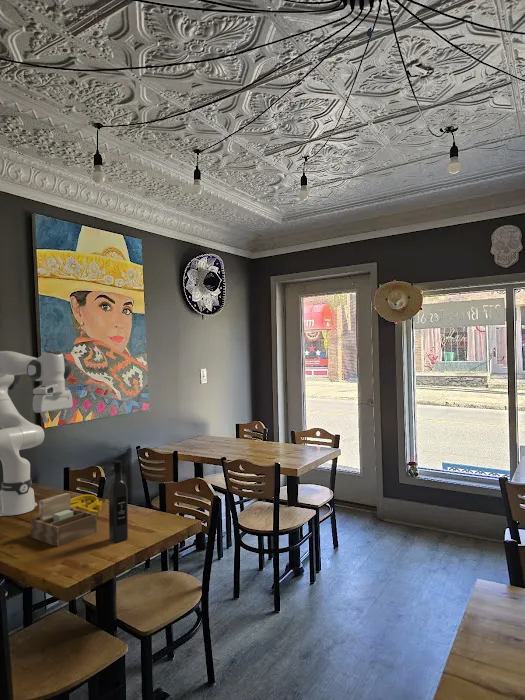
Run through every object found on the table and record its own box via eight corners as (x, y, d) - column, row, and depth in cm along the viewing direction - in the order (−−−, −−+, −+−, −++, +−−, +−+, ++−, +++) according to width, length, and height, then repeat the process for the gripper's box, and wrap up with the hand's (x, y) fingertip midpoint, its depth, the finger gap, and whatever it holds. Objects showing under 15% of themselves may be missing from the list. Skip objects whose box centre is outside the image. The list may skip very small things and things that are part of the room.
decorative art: (88, 493, 230) (121, 505, 210) (88, 499, 229) (121, 511, 210) (46, 503, 214) (77, 517, 194) (46, 510, 214) (78, 524, 194)
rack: (30, 537, 179) (30, 519, 180) (69, 523, 194) (69, 507, 194) (57, 546, 169) (57, 527, 170) (96, 531, 184) (96, 514, 184)
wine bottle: (128, 539, 175) (128, 461, 176) (114, 543, 172) (114, 463, 172) (122, 535, 180) (121, 459, 180) (108, 539, 176) (107, 461, 176)
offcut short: (53, 521, 180) (53, 514, 181) (67, 517, 186) (67, 509, 186) (59, 523, 178) (59, 515, 178) (73, 518, 183) (73, 511, 183)
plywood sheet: (39, 536, 181) (39, 500, 181) (67, 526, 191) (66, 492, 191) (43, 537, 179) (42, 501, 179) (70, 527, 189) (70, 493, 189)
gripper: (64, 387, 205) (64, 418, 204) (29, 390, 185) (30, 424, 184) (76, 386, 203) (76, 418, 202) (42, 389, 183) (43, 424, 183)
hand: (54, 421), depth 193 cm, fingers open, 8 cm apart
